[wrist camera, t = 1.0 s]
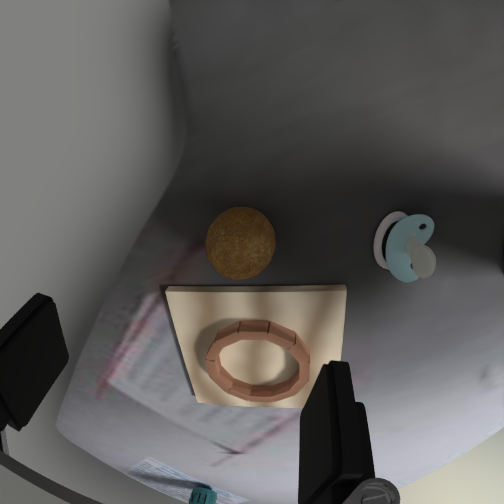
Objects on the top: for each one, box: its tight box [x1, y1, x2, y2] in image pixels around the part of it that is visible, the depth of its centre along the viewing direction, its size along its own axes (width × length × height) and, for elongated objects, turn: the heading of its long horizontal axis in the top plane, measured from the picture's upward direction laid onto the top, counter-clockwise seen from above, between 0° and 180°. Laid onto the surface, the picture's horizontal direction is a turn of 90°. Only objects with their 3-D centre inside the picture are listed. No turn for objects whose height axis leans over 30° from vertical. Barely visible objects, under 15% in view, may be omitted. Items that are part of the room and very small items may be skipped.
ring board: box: [165, 285, 347, 408], centre depth 38 cm, size 20×20×3 cm
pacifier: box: [373, 211, 436, 283], centre depth 28 cm, size 7×6×6 cm
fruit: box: [205, 207, 276, 280], centre depth 29 cm, size 6×6×8 cm
